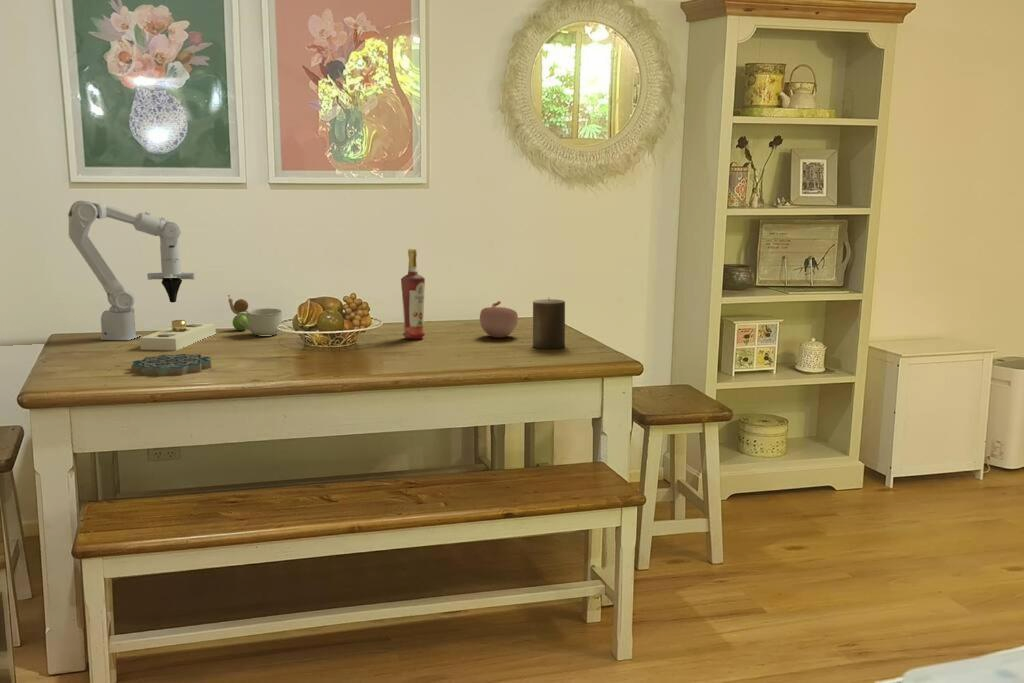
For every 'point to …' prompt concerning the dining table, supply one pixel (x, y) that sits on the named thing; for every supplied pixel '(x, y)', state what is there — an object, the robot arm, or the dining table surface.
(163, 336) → the knob near
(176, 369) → the decorative tile
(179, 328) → the knob brass
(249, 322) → the teacup
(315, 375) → the dining table surface
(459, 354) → the dining table surface
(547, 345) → the pillar candle
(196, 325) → the knob far
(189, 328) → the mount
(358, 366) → the dining table surface
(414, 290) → the liquor
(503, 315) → the pink decorative apple
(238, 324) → the snail figurine
